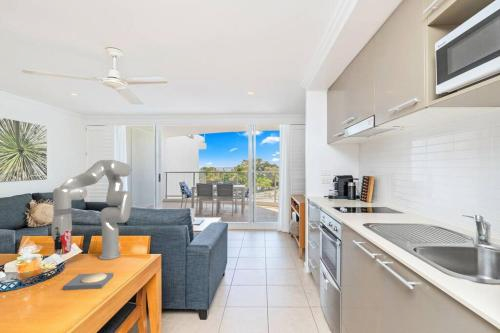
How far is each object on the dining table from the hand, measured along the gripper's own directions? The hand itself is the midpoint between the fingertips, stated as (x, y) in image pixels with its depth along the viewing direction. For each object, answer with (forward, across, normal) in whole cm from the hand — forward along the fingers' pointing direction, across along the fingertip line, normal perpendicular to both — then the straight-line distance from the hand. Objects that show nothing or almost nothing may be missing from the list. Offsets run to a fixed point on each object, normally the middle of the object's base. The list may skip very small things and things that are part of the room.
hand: (62, 246), depth 137 cm
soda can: (+4, 0, 0) cm, 4 cm away
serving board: (+17, +4, +15) cm, 23 cm away
